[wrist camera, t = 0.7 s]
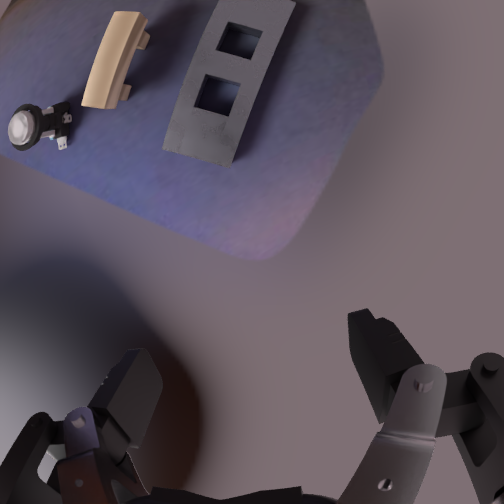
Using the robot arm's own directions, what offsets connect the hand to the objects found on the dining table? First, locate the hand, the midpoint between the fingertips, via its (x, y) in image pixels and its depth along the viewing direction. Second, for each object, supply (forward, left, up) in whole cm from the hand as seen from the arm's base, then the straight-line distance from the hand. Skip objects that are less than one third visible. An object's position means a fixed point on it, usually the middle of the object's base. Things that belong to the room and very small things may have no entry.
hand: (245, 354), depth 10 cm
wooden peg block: (-17, +11, -26) cm, 33 cm away
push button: (-25, +2, -27) cm, 37 cm away
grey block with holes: (-5, +13, -26) cm, 30 cm away
